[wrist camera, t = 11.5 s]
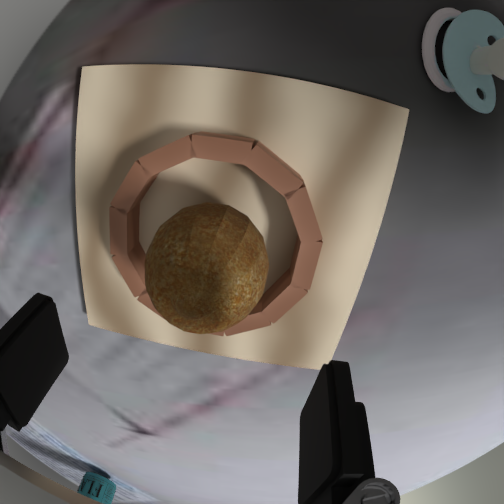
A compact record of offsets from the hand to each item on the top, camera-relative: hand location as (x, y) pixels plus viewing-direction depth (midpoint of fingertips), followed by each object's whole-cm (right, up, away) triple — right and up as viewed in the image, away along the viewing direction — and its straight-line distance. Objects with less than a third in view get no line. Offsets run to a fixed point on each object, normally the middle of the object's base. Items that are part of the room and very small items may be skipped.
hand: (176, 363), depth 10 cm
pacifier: (+16, +17, +5) cm, 23 cm away
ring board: (0, +5, +11) cm, 12 cm away
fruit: (+1, +5, +10) cm, 11 cm away
